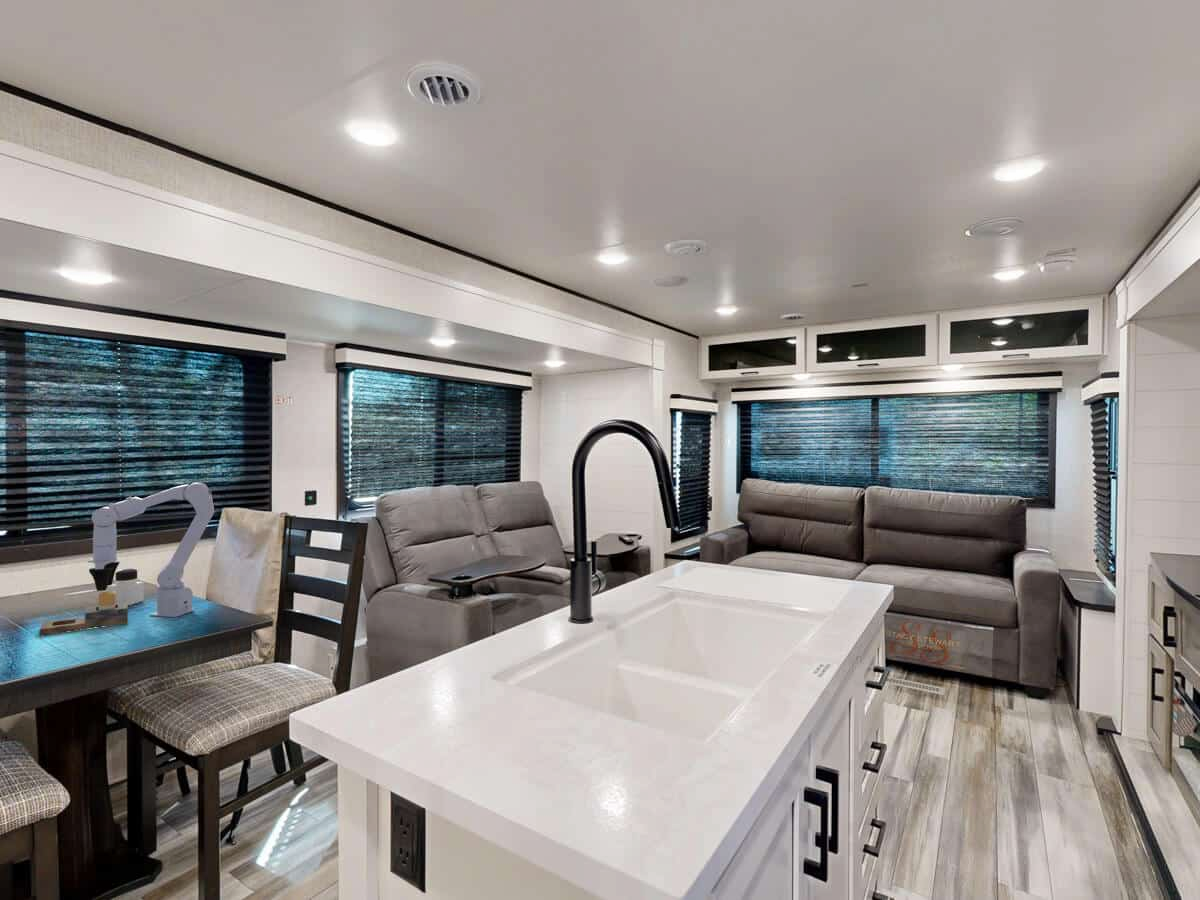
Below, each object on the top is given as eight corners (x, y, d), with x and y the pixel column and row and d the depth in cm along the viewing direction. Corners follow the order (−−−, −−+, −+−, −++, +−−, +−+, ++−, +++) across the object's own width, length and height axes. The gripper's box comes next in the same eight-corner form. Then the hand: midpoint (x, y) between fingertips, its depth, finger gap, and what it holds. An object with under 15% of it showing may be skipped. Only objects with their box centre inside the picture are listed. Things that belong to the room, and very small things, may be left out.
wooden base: (127, 617, 193) (127, 601, 193) (127, 624, 186) (127, 608, 186) (42, 628, 180) (42, 611, 180) (39, 636, 173) (39, 618, 173)
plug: (115, 611, 189) (115, 590, 189) (115, 614, 186) (115, 593, 186) (98, 613, 187) (99, 592, 187) (98, 616, 183) (98, 595, 183)
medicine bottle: (144, 601, 212) (144, 567, 212) (126, 607, 205) (126, 572, 205) (125, 600, 213) (126, 567, 212) (107, 606, 205) (107, 571, 205)
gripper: (94, 542, 194) (94, 584, 194) (82, 549, 181) (82, 594, 181) (121, 541, 197) (121, 582, 197) (111, 548, 185) (111, 591, 185)
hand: (104, 587), depth 190 cm, fingers open, 7 cm apart
